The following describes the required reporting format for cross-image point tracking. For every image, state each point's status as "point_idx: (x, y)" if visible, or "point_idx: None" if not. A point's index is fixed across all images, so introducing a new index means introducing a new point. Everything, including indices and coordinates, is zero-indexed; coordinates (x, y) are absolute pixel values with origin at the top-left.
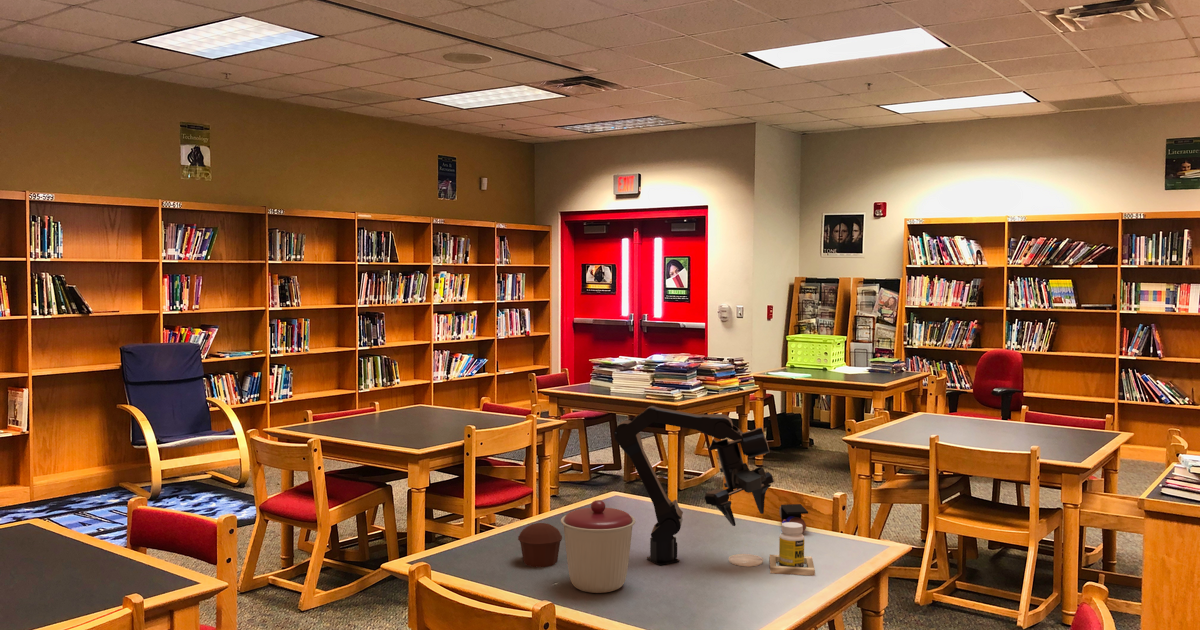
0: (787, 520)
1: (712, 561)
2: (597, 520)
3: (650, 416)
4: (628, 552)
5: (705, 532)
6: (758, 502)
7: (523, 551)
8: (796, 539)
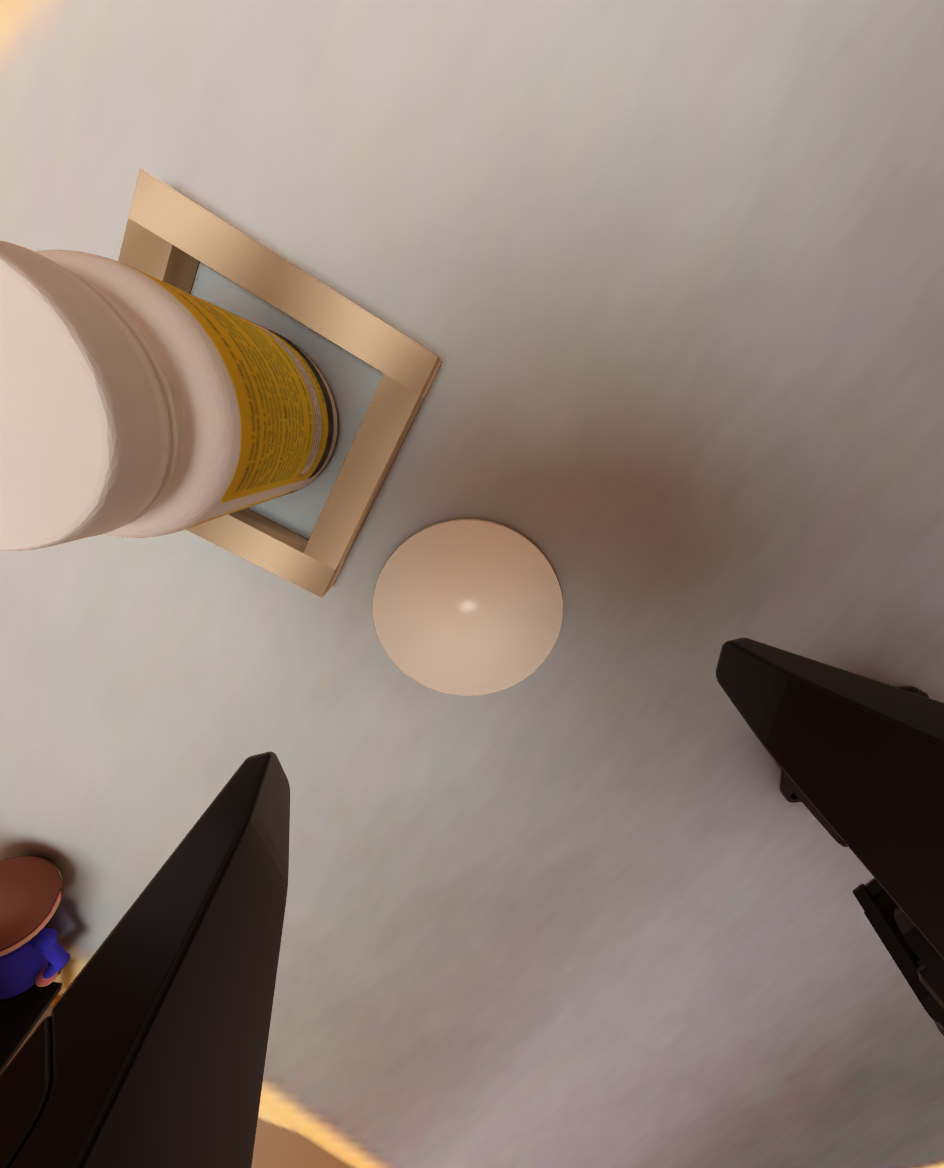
0: (30, 973)
1: (631, 664)
2: None
3: None
4: None
5: (433, 973)
6: (231, 997)
7: None
8: (80, 253)
